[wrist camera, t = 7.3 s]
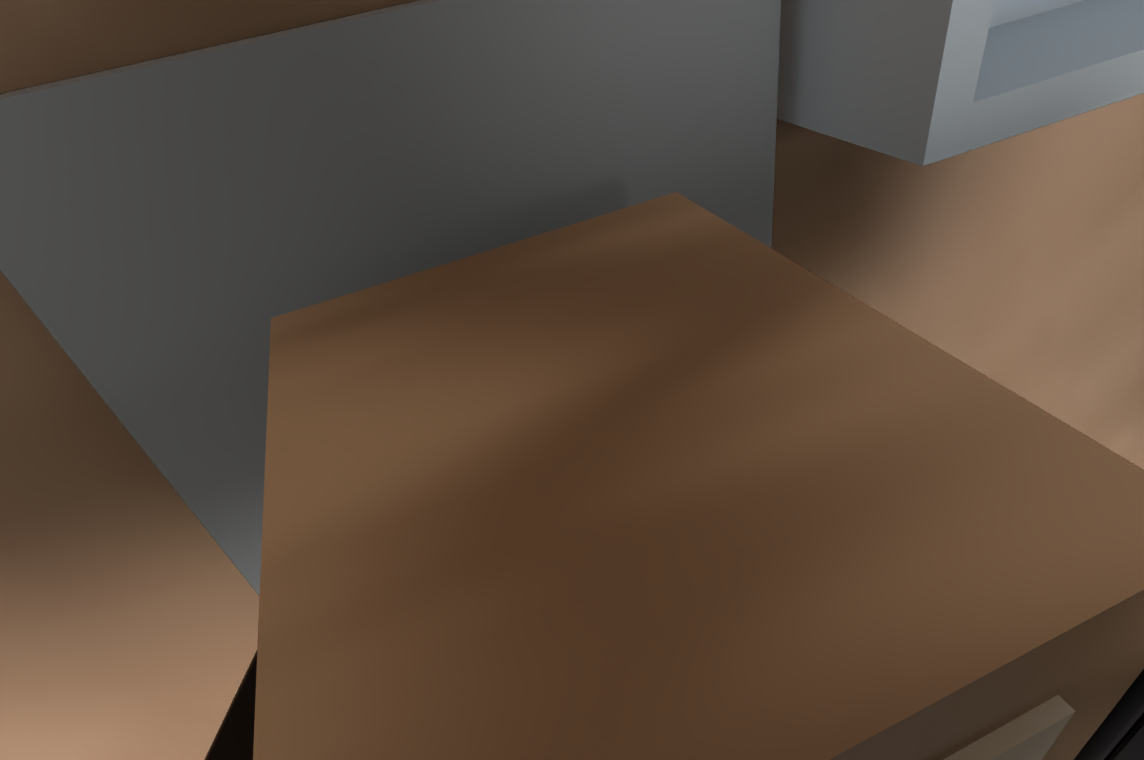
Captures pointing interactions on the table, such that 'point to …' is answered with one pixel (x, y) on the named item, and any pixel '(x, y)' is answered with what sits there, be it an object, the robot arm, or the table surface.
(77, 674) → the table surface
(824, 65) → the parts bin
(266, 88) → the mat
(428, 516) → the walnut box
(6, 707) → the table surface
